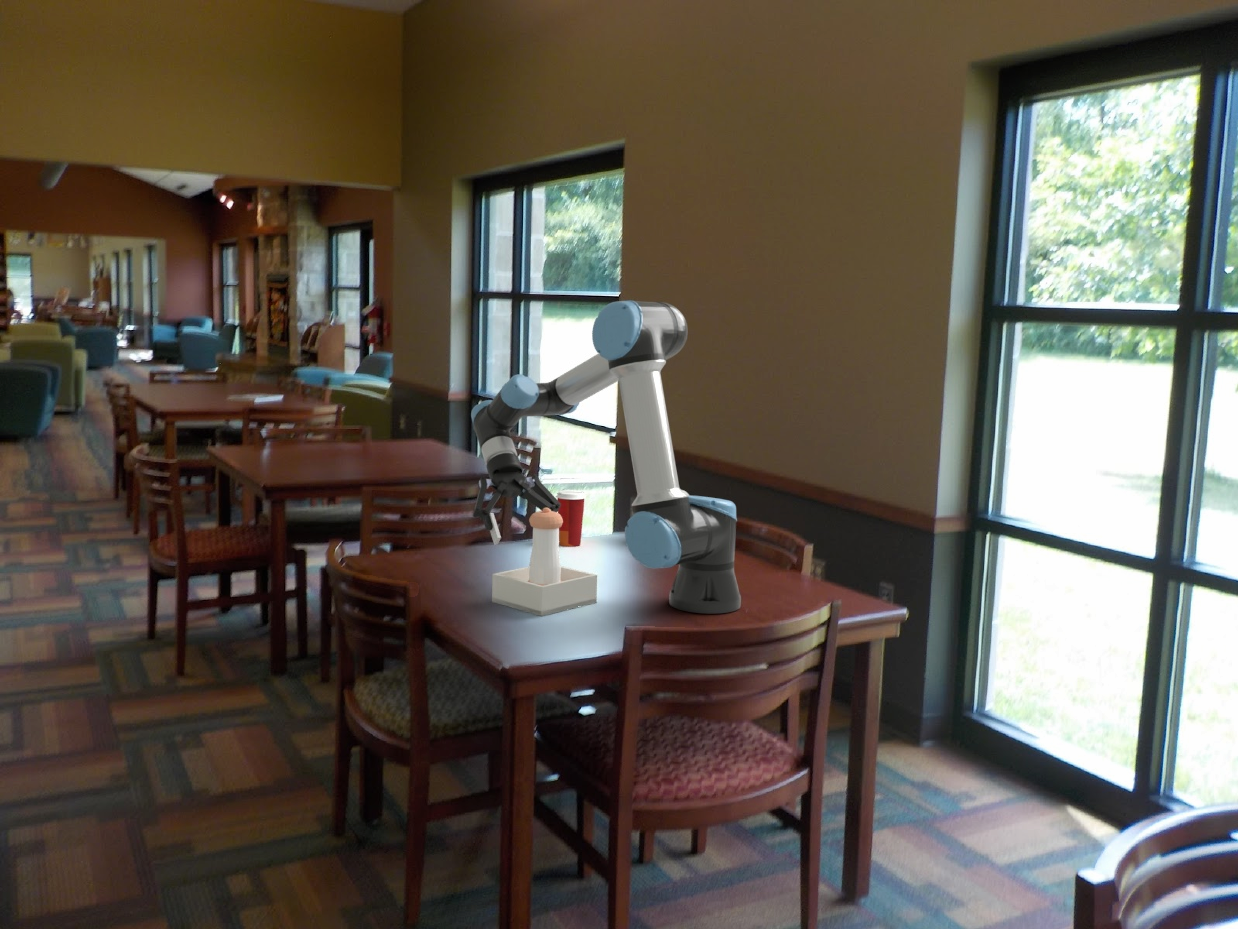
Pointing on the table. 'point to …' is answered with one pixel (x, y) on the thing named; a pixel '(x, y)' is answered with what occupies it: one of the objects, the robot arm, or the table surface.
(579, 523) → the paper cup
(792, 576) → the table surface
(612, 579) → the table surface
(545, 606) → the bin
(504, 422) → the robot arm
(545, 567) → the salt shaker
